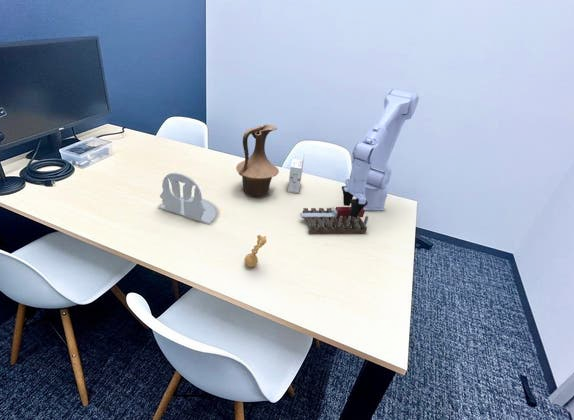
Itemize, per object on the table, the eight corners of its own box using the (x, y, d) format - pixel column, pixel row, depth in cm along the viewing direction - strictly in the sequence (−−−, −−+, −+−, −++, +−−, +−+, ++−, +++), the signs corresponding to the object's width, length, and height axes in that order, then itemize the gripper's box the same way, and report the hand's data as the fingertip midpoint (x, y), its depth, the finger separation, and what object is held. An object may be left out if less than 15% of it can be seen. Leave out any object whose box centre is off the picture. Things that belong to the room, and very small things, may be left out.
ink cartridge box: (288, 182, 147) (293, 151, 139) (300, 184, 146) (305, 153, 138) (287, 192, 140) (291, 159, 132) (298, 193, 139) (303, 161, 131)
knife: (360, 213, 123) (362, 206, 121) (363, 217, 121) (365, 210, 119) (300, 213, 121) (301, 206, 119) (301, 217, 118) (302, 210, 117)
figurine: (250, 255, 104) (252, 223, 97) (268, 261, 102) (271, 229, 96) (239, 271, 97) (240, 239, 91) (258, 278, 95) (261, 245, 89)
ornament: (157, 208, 124) (153, 167, 115) (178, 193, 134) (175, 154, 125) (209, 224, 117) (208, 182, 108) (226, 207, 127) (227, 167, 118)
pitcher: (253, 206, 128) (258, 136, 113) (226, 189, 139) (227, 123, 124) (284, 193, 139) (292, 127, 124) (256, 178, 149) (261, 116, 134)
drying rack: (352, 214, 127) (357, 198, 124) (365, 234, 117) (370, 218, 113) (301, 214, 126) (304, 198, 122) (310, 234, 115) (313, 218, 111)
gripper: (340, 167, 119) (333, 200, 126) (354, 187, 107) (345, 222, 114) (359, 168, 119) (351, 200, 127) (375, 187, 107) (365, 222, 115)
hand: (349, 210), depth 120 cm, fingers open, 7 cm apart
